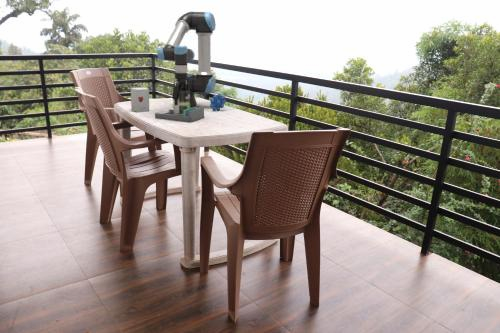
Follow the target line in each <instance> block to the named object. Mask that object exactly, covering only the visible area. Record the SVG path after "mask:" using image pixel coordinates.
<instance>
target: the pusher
mask: <svg viewBox="0 0 500 333" xmlns="http://www.w3.org/2000/svg"><path fill="white" fill-rule="evenodd" d="M194 109H197V107H192V108H189V109H185V110H183V116H188V111H191V110H194Z"/></svg>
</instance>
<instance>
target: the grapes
mask: <svg viewBox="0 0 500 333" xmlns="http://www.w3.org/2000/svg"><path fill="white" fill-rule="evenodd" d="M212 97H213V98H211V99H210V100H209V101H210V102H209V103H210V104H209V107H210V108H211V110H212V111H216V112H217V111H220V110H221V109H223V108H224V107H225V104H226V103H227V101H226V97H225V95H222V94H221V93H217V94H214V95H213V96H212Z"/></svg>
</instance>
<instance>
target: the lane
mask: <svg viewBox="0 0 500 333" xmlns="http://www.w3.org/2000/svg"><path fill="white" fill-rule="evenodd" d="M173 113H174V109H168V111H166V112H162V113H160V112H155V113H154V118H155V119H159V120H167V121H175V122H185V123H194V122H197V121H199V120H202V119H204V118H205V107H204V106H203V107H198V108H196V109H194V110H191V111H188V116H183V115H176V114H173Z"/></svg>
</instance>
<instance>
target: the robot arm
mask: <svg viewBox="0 0 500 333" xmlns="http://www.w3.org/2000/svg"><path fill="white" fill-rule="evenodd" d="M174 26H175V27H174V29H173V31H172V33H171V34H170V35H169V38H168V40H167V41H166V43H165V45H164V47H159V48H158V49H157V52H156V54H157V58H158V59H159V60H160V61H169V62H170V61H173V62H174V72H175V73H174V79H175V80H176V81H174V82H173V89H172V97H171V99H172V100H173V99H174V100H175V110H177V111H179V100H178V98H179V93H178V92H180V91H181V90H183V91H187V90H189V91H190V108H193V107H196V108H197V107H198V102H197V99H196V97H195V96H196V95H195V93H201V94H211V93H213V92H214V91H215V88H216V77H215V76H213V74H214V73H213V72H212V70H211V65H212V63H211V36H212V35H213V33H214V31H216V26H217V25H216V19H215V17H214V14H213V13H212V12H210V11H189V12H186V13H184V14H182V15H181V16H179V18H178V19H177V20H176V22H175V24H174ZM189 31H195V34H196V35H197V59H198V60H197V61H198V62H197V63H198V64H197V66H198V68H197V69H198V71H197V72H196V74H195V73H188V62H191V61H193V60H194V59H195V54H196V53H195V52H194V50H192V49H191V48H188V47H187V46H186V45H181V43H182V41H183V39H184V37H185V36H186V34H187V33H188V32H189Z"/></svg>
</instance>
